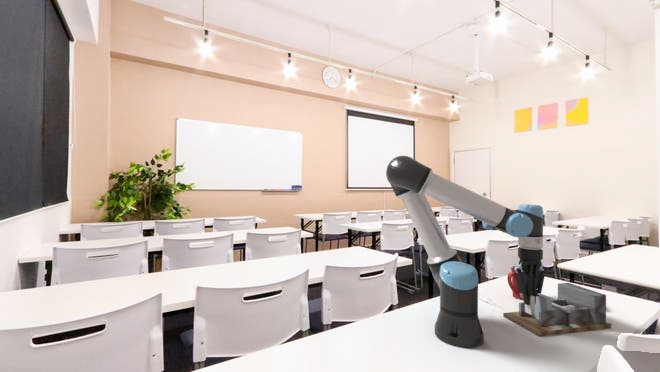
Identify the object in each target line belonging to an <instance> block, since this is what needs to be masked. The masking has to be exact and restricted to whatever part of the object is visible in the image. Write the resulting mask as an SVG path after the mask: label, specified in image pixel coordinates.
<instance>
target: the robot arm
mask: <svg viewBox="0 0 660 372" xmlns="http://www.w3.org/2000/svg"><path fill="white" fill-rule="evenodd" d="M385 176H386V179H387V182H388V183H389V184H390V187H391V189H392V191H393V192H394V194H395V198H398V199H401V201H402V202H403V205H404V207H405V209H406V211H407V213H408V216H409V217H410V219H411V222H412V224H413V226H414V228H415V230H416V232H417V234H418V236H419V239H420V241H421V243H422V246H423V247H424V249H425V251H426V254H427V256H428V258H427V260H426V263H427V266H428V267H429V269H430V272H431V273H432V277H433V279H434V282H436V285H438V288H439V311H438V312H439V313H438V315H437V318H436V321H435V324H434V334H435V336H436V337H437V338H438V340H441V341H442V342H444V343H447V344H449V345H452V346H456V347H461V348H475V347H480V346H481V345H483V344H484V341H485V339H484V338H485V334H484V329H483V327H482V324H481V322H480V318H479V296H478V295H479V281H480V280H479V276H478V275H479V274H478V271H477V269H476V267H474V266H473V265H471V264H468V263H466V262H463V261H462V259H461V258H460V256H459V253H458V251H457V250H456V249H454V248H452V247H451V246H450V245H449V242H448V240H447V237H446V236H445V234H444V232H443V228H442V227H441V225H440V223H439V222H438V219H437V217H436V215H435V212H434V211H433V209H432V206H431V204H430V202H429V200H428V198H427V196H429V197H431V198H433V199H435V200H437V201H439V202H441V203H443V204H445V205H447V206H449V207H452V208H454V209H455V210H458V211H460V212H462V213H464V214H466V215H468V216H470V217H472V218H475V219H476V220H479V221H481V223H482V226H483V229H485V230H488V231H498V232H502V233H505V234H507V235H509V236H511V237H514V238H518V239H517V246H518V248H517V257H518V259H519V260H518V264H517V265H518V266H517V267H513V271H514V272H515V276H516V281H517V286H518V291H519V293H522V294H523V295H524V300H523V302H524V304H525V312H526V313H528V314H530V315H535V304H536V296H537V297H538V296H539V295H538V293H539V294H540V293H541V294H542V291H543V287H544V281H545V277H546V276H545V275H546V272H548V269H549V268H548V266H544V265H543V264H542V263H543V262H542V261H543V260H544V250H543V247H544V244H543V243H544V240H543V239H544V233H543V232H544V219H545V218H544V209H543V206H541V205H540V204H539V205H538V204H519V205H518V207H517V209H510V208H508V207H506V206H504V205H503V204H501V203H499V202H496V201H494V200H492V199H490V198H487V197H485V196H483V195H481V194H479V193H476V192H475V191H472V190H470V189H468V188H466V187H464V186H462V185H459V184H457V183H455V182H453V181H452V180H449V179H447V178H444V177H443V176H441V175H439V174H436V173H435V172H433V168H431V167H429V166H426V165H424V164H423V163H421V162H419V161H418V160H417V159H414V158H413V157H410V156H407V155H398V156H396V157H394V158H393V159H391V160H390V161H389V163H388V164H387V167H386V171H385ZM426 195H427V196H426Z"/></svg>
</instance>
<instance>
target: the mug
mask: <svg viewBox="0 0 660 372" xmlns="http://www.w3.org/2000/svg"><path fill="white" fill-rule="evenodd" d="M518 265H519V264H514V265H510V272H508V274H507V276H506V277H507V283H508V286H509V288H510V290H511V291H512V297H513V298H515V299H517V300H521V301H524V295H523V294H522V293H519V291H518V286H517V281H516V276H515V272H514V271H513V267H517V266H518Z"/></svg>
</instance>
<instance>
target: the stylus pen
mask: <svg viewBox="0 0 660 372" xmlns="http://www.w3.org/2000/svg"><path fill="white" fill-rule="evenodd" d="M478 300H481V301H483V302H484V303H486V304H489V305H490V306H493V307H495V308H498V309H500V310H502V311H505V312H506V309H504V307H502V306H501V305H498V303H496V302H494V301H492V299H490V298H489V297H485V296H483V295H480V294H478Z"/></svg>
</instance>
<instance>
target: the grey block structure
mask: <svg viewBox="0 0 660 372" xmlns="http://www.w3.org/2000/svg"><path fill="white" fill-rule="evenodd" d="M552 303H555V304H557V305H560V306H562V307H565V308H567V309H568V310H570V311H571V313H570V326H567V325H566V312H565V311H562V310H553V311H543V312H539V320H538V319H536V318H534V317H532V316H531V315H530V314H528V313H526V312H525V304H524V301H523V302H519V303H518V311H512V312H511V311H507V312H503V313H502V314H503V315H502V316H503V318H504V319H506V320H508V321H509V322H512V323H513V324H515V325H518V326H519V327H521V328H523V329H524V330H527V331H528V332H530V333H532V334H534V335H536V337H539V338H541V337H543V338H544V337H551V336H558V335H559V336H560V335H566V334H567V335H568V334H576V333H583V332H592V331H600V330H608V329H609V330H610V329H612V323H609V322H608V321H607V295H606V294H604V293H602V292H601V293H600V292H598V291H595V290H592V289H588V288H586V287H582V286H579V285H575V284H572V283H570V282H562V283H557V299H556V298H554V299H552Z"/></svg>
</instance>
